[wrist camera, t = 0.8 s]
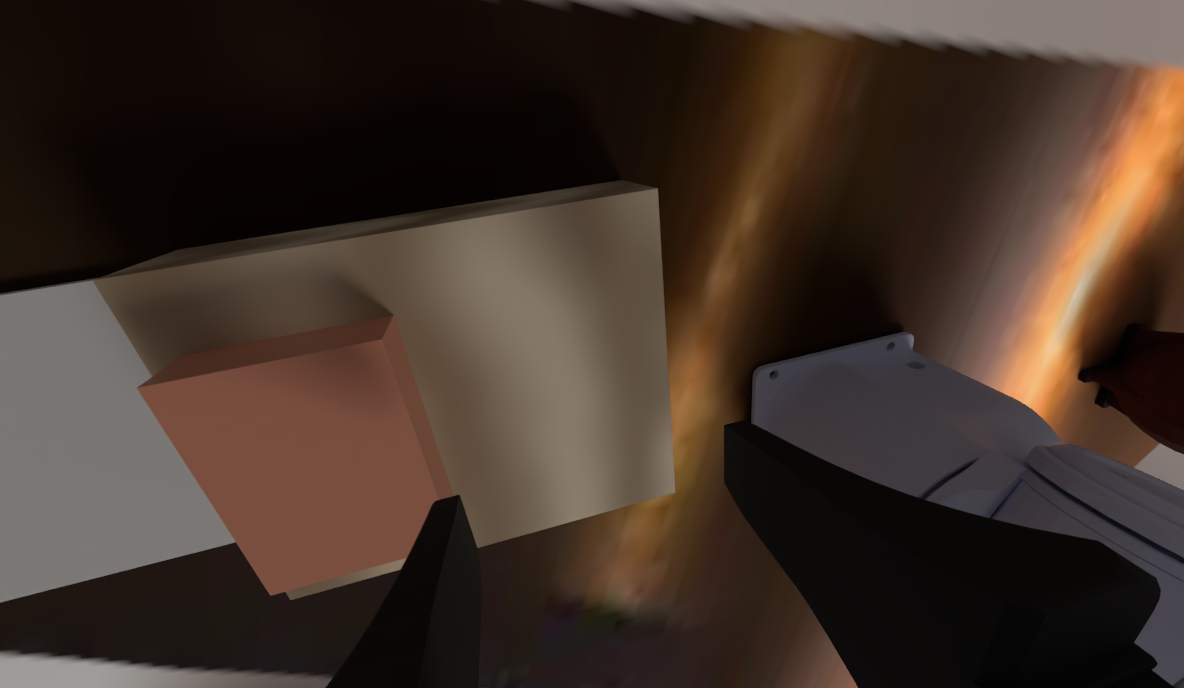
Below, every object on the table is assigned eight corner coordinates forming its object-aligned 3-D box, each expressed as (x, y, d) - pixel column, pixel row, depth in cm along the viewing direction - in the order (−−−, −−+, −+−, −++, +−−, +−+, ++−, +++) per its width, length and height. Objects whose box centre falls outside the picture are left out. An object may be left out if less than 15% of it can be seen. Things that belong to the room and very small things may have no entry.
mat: (170, 266, 16) (163, 269, 15) (305, 518, 21) (302, 525, 20) (-333, 347, 14) (-354, 352, 13) (-44, 607, 19) (-54, 616, 18)
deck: (621, 179, 18) (657, 188, 15) (644, 440, 24) (675, 492, 20) (179, 249, 16) (92, 280, 12) (321, 523, 21) (290, 600, 18)
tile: (393, 314, 14) (382, 339, 12) (456, 504, 18) (455, 544, 16) (181, 355, 13) (136, 388, 12) (292, 547, 17) (270, 595, 15)
